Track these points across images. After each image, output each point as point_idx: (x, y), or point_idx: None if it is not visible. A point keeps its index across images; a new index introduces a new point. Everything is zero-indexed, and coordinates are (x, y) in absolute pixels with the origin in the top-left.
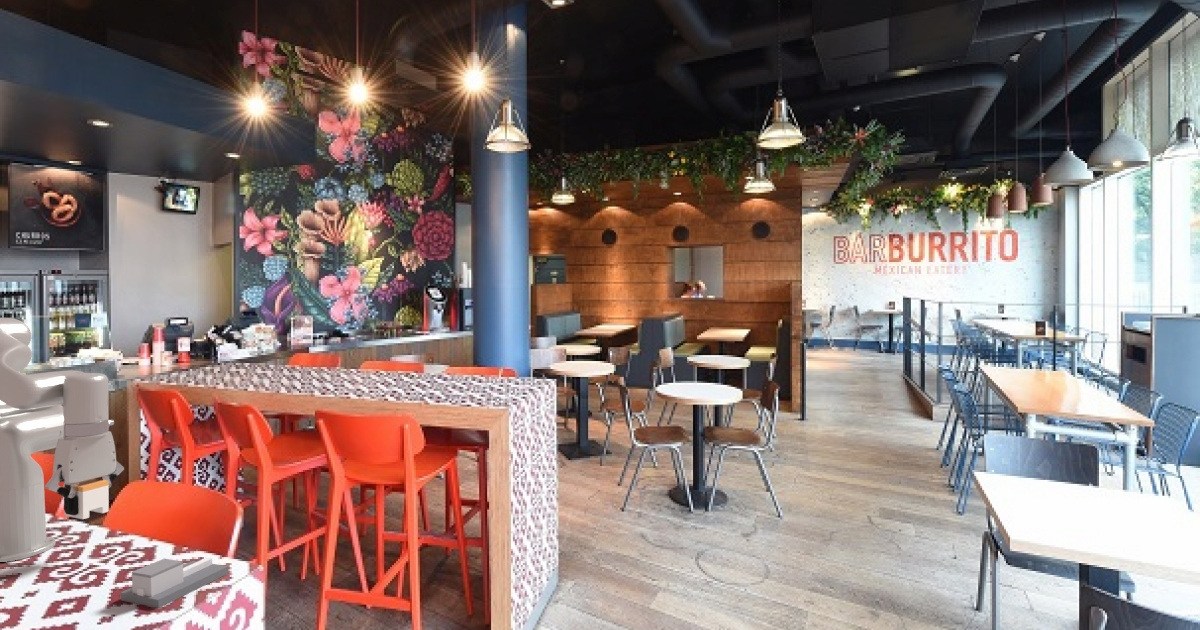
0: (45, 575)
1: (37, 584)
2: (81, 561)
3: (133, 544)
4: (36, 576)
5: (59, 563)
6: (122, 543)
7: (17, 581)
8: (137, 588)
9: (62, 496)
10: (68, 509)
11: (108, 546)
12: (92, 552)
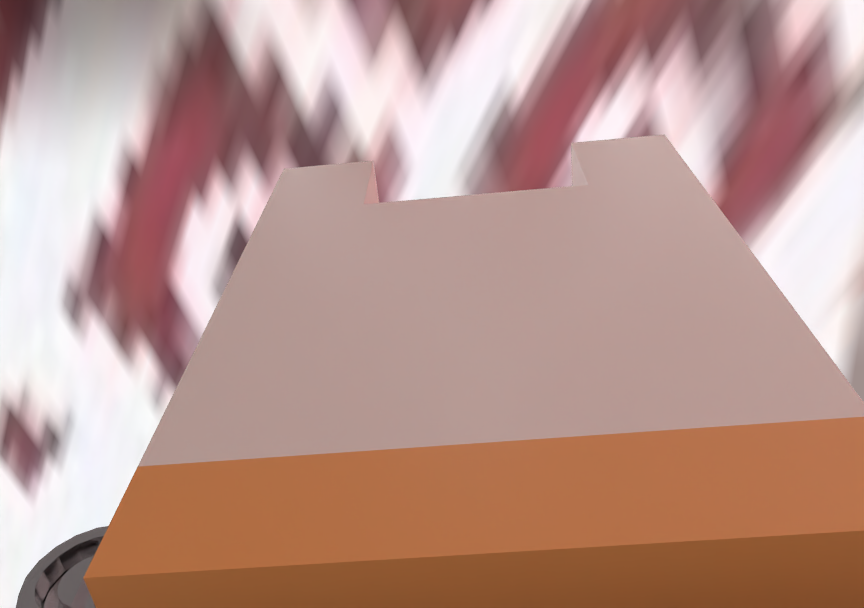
0: (157, 224)
1: (81, 338)
2: (402, 192)
3: (774, 217)
4: (114, 179)
5: (303, 56)
6: (774, 94)
7: (6, 145)
8: None
9: (80, 553)
10: None
11: (689, 44)
12: (549, 60)
